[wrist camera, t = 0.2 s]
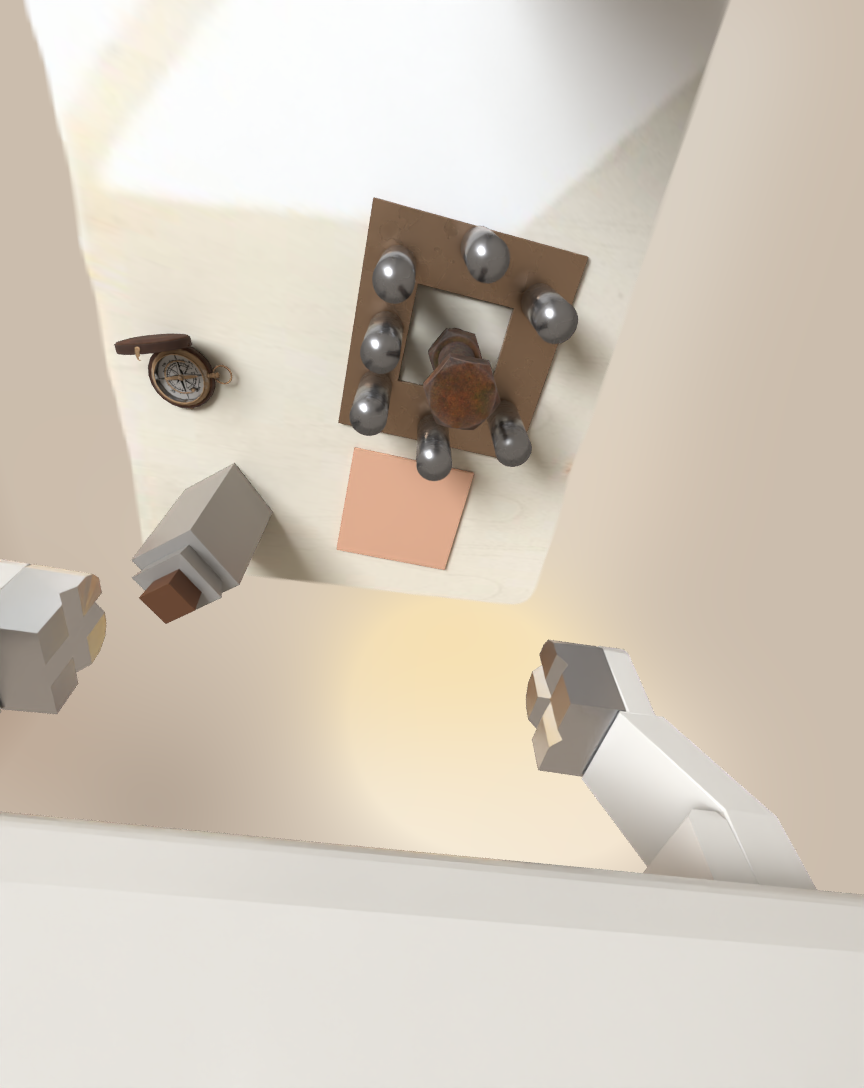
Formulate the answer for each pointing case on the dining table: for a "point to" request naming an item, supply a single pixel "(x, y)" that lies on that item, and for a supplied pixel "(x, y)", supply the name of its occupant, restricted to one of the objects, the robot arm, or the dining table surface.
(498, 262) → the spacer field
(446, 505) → the pad
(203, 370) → the compass
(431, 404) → the bolt
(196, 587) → the perfume bottle
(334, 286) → the dining table surface
